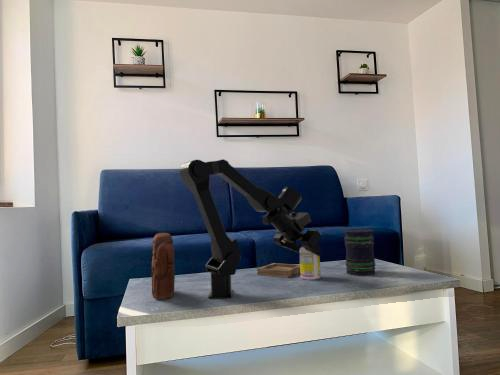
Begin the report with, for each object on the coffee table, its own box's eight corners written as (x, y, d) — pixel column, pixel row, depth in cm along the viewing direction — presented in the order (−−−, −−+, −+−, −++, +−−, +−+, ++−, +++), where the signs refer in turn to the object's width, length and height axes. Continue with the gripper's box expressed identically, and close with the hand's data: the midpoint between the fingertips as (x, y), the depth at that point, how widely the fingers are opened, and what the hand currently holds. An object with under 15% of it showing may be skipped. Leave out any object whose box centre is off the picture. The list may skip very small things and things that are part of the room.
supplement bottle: (313, 275, 120) (312, 237, 120) (324, 278, 113) (322, 239, 114) (296, 277, 117) (295, 239, 118) (306, 281, 111) (305, 241, 112)
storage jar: (378, 276, 114) (376, 231, 115) (348, 276, 116) (345, 231, 117) (372, 270, 124) (370, 228, 125) (344, 270, 126) (342, 229, 126)
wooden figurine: (151, 291, 105) (149, 232, 106) (172, 289, 107) (170, 231, 108) (153, 301, 94) (151, 235, 95) (177, 298, 96) (175, 233, 97)
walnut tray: (287, 277, 117) (286, 271, 117) (257, 274, 123) (257, 268, 124) (302, 271, 127) (302, 265, 127) (274, 268, 133) (274, 262, 133)
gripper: (315, 204, 106) (342, 236, 111) (278, 205, 122) (303, 233, 127) (297, 232, 101) (326, 264, 107) (261, 229, 117) (288, 257, 123)
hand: (310, 253), depth 116 cm, fingers open, 9 cm apart
